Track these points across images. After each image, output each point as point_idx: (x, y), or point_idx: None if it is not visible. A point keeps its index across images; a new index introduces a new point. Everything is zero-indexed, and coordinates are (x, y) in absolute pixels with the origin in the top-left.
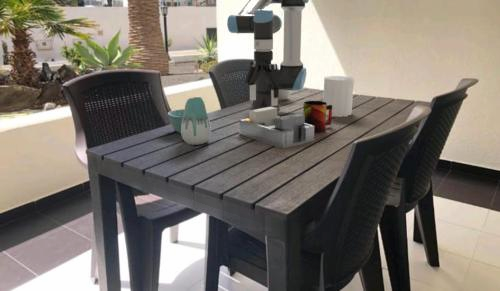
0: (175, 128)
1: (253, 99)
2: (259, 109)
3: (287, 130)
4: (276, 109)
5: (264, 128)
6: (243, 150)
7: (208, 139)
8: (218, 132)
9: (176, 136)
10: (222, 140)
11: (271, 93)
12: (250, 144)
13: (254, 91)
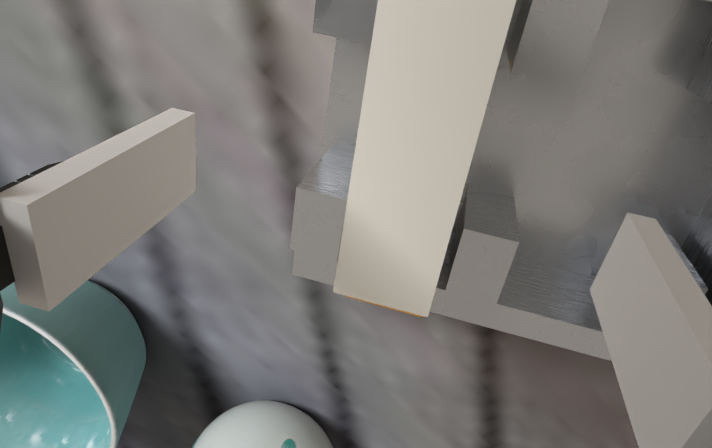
0: (88, 397)
1: (190, 158)
2: (377, 202)
3: None
4: (511, 12)
5: (599, 352)
6: (553, 439)
7: (330, 442)
8: (209, 262)
9: (145, 401)
10: (346, 362)
11: (631, 423)
12: (524, 354)
13: (120, 184)
